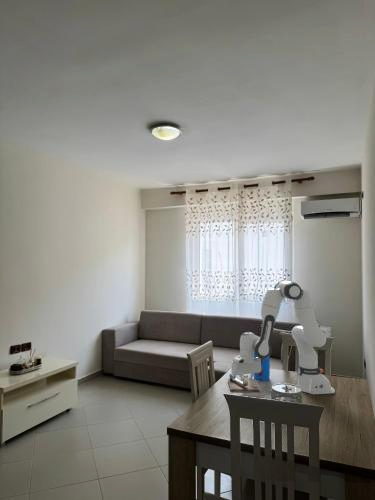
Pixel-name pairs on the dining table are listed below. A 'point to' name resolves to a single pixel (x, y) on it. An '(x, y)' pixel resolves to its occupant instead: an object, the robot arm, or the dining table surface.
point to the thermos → (263, 370)
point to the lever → (244, 383)
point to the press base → (239, 388)
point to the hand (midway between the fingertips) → (246, 380)
